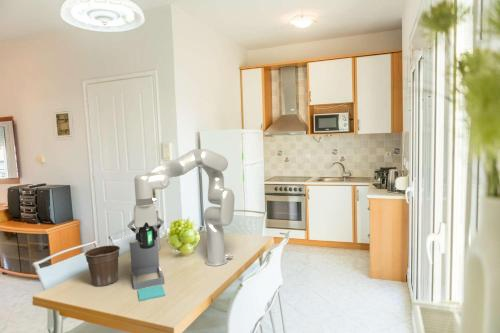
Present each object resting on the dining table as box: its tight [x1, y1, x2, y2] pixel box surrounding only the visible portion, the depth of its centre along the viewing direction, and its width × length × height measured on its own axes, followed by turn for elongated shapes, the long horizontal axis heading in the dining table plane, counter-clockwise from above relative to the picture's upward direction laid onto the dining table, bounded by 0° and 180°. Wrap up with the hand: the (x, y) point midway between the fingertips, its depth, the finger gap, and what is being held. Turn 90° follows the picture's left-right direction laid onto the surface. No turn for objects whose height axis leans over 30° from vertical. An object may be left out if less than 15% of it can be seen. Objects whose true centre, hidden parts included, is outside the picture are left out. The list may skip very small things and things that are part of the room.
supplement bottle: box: [138, 222, 155, 249], centre depth 154 cm, size 7×7×12 cm
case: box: [129, 239, 165, 290], centre depth 168 cm, size 14×20×17 cm
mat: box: [137, 284, 166, 302], centre depth 152 cm, size 11×11×1 cm
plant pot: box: [83, 245, 121, 287], centre depth 167 cm, size 16×16×16 cm
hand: (146, 239), depth 154 cm, fingers closed on supplement bottle, 6 cm apart
